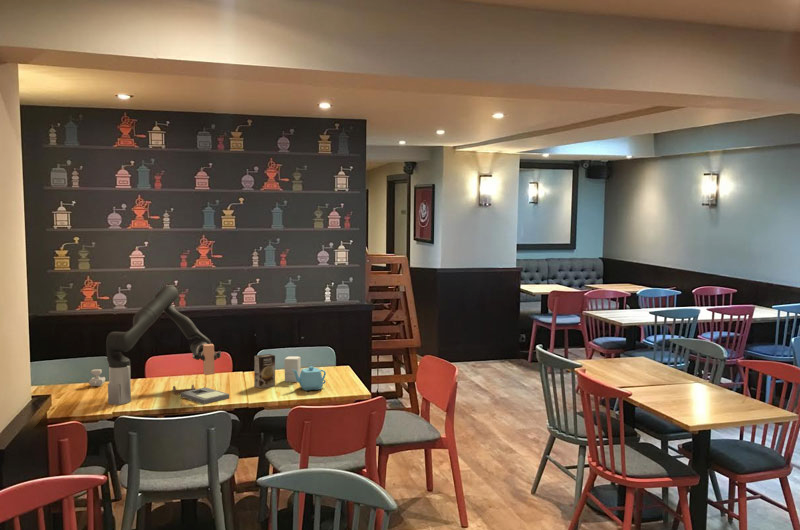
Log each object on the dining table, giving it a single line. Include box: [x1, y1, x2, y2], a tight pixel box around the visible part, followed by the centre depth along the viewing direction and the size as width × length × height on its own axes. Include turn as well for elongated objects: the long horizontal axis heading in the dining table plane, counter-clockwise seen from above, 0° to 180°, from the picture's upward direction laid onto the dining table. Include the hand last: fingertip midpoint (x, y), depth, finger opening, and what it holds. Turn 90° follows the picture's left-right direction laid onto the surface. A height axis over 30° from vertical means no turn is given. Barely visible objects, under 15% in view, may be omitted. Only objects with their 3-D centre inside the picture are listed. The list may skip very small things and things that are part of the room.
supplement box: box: [283, 355, 302, 383], centre depth 349 cm, size 7×7×13 cm
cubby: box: [172, 384, 196, 395], centre depth 325 cm, size 9×10×2 cm
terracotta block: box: [202, 343, 215, 376], centre depth 311 cm, size 4×4×14 cm
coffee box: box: [253, 353, 276, 389], centre depth 336 cm, size 9×6×16 cm
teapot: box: [292, 365, 327, 392], centre depth 331 cm, size 12×18×12 cm
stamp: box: [88, 368, 106, 387], centre depth 334 cm, size 9×7×8 cm
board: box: [179, 387, 230, 405], centre depth 314 cm, size 20×14×2 cm
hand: (209, 358), depth 308 cm, fingers closed on terracotta block, 4 cm apart
